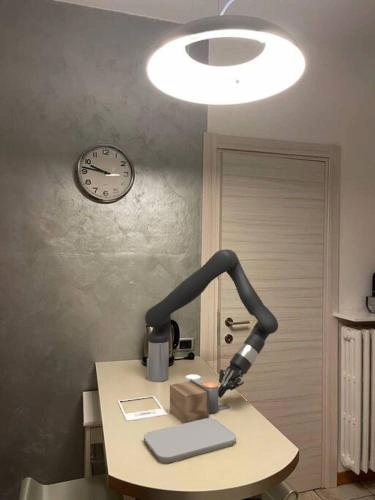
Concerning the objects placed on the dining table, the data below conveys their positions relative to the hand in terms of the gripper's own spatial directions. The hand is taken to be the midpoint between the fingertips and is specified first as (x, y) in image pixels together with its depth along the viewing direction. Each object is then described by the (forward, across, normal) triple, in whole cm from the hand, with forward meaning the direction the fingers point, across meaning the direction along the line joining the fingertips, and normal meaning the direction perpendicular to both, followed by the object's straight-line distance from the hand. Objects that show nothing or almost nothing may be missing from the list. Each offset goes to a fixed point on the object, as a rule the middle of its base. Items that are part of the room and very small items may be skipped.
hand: (218, 396), depth 138 cm
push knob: (+6, 0, +1) cm, 6 cm away
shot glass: (+4, -18, +3) cm, 18 cm away
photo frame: (+21, -14, -14) cm, 29 cm away
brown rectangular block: (+8, 0, -1) cm, 8 cm away
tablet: (+19, +16, -11) cm, 27 cm away
